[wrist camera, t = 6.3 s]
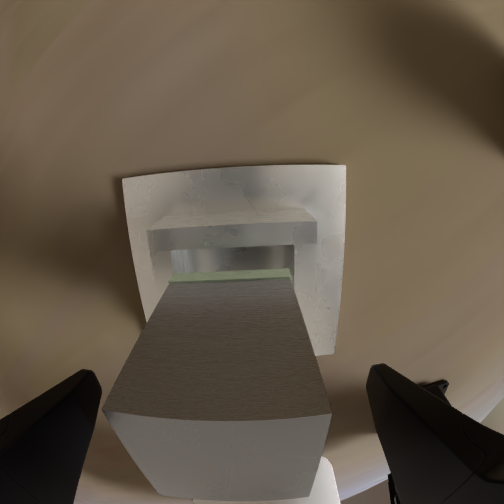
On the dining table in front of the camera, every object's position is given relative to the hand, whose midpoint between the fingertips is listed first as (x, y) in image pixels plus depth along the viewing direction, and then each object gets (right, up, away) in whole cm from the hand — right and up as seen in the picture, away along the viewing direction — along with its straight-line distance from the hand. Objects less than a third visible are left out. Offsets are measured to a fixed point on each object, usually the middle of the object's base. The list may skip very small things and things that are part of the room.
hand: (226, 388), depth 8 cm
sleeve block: (0, +3, +9) cm, 10 cm away
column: (0, +1, +4) cm, 4 cm away
